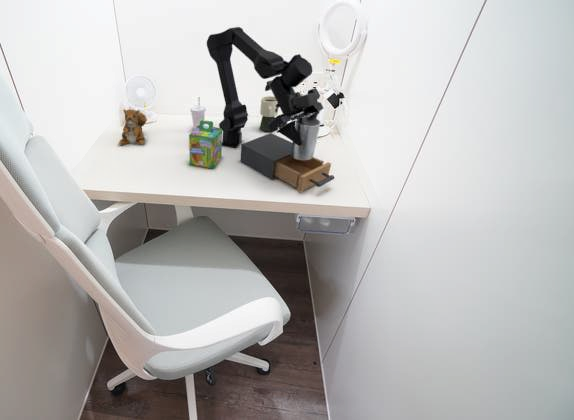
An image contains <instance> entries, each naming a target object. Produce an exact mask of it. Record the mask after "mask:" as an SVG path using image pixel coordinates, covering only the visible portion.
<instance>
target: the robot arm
mask: <svg viewBox="0 0 574 420" xmlns="http://www.w3.org/2000/svg"><path fill="white" fill-rule="evenodd" d="M233 46H234V47H235V48H236V49H237V50H239V51H240V52H241V53H242V54H243V55H244V56H245V57H246V58H247V59H248V60H249V61H251V63H252V64H253V68H254V70H255V72H256V74H257V75H258V76H259V78H261V79H263V80H267V79H270V78H273V79H272V80H268V81H266V85H265V87H264V88H265V89H264V91H265V92H268V91H271V93H272V95H273V97H275V99H276V101H277V103H278V104H276V107H277V108H279V109H280V111H281V114H277V115H276V116H274V117H275V118H274V119H273V120H271V121H270V122H269V123H268V128H269V130H270V131H269V132H270V133H273V132H275V131H276V133H277V134H278V133H280V134H281V135H283V136H284V137H285V138H287V139H289V141H290V142H292V143H293V142H294V143H295V144H297V145H298V146H301V145H302V143H301V140H300V137H299V135H298V133H297V131H296V128H295V125H296V120H297V119H298V118H301V117H311V118H315V119H318V115H319V114H320V112H321V111H322V110H323V109H324V106H323V104H322V102H319V101H318V100H319V99H320V97H321V94H320V92H319V90H318V89H317V88H316V87H315V88H311V89H308V90H307V93H305V94H303V95H302V94H301V93H300V92H299V91H297V92H295V89H294V88H297V87H298V86H299V85H301V84H302V83H303V82H304V81H305V80H306V79H308V78H309V77H310V76H311V75H312V74H313V66H312V64H311V62H309V60H307V59H306V58H304V57H302V55H301V54H300V53H299V54H295V55H294V56H292V57H291V58H290V60H289V61H287V60H285V59H284V58H283V56H281V55H279V54H278V53H276V52H274V51H270V50H267V49H266V48H264V47H262V46H261V45H260V44H258V42H256V41H255V40H254V39H253V38H252V37H250V36H249V35H248V34H247V33H246V32H245V31H244V29H243V28H242V27H240V26H235V27H230V28H228V29H225V30H224V31H222V32H218V33H213V34H209V36H208V38H207V39H206V47H207V51H208V54H209V56H210V58H211V59H212V60H213V61H214V62H215V64H216V68H217V72H218V77H219V80H220V87H221V90H222V94H223V99H224V103H225V106H224V109H223V112H222V114H223V120H221V121H220V122H219V123H218V128H221V129H222V146H223V147H229V148H235V149H237V148H238V147H239V146H240V144H242V142H243V140H242V139H243V132H242V128H244V129H245V126H246V124H247V122H248V119H249V118H248V116H249V113H248V111H247V105H246V104H243V103H242V102H241V101H240V100H239V95H238V89H237V85H236V81H235V75H234V70H233V66H232V61H231V57H232V53H233V49H234V48H233Z"/></svg>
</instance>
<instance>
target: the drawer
mask: <svg viewBox="0 0 574 420" xmlns="http://www.w3.org/2000/svg"><path fill="white" fill-rule="evenodd" d="M331 167H332V162H329V161H327V162H325V163H324V161H323V160H321V159H319V158H317V157H314V156H313V158H312V159H310V160H305V161H304V160H297V159H295V158H293V157H292V156H289V157H286V158H284V159H282V160H280V161H277V162H275V169H274V175H275V176H276V178H278V179H280V180H282V181H284V182H286V183H287V184H289V185H291V186H293V187H295V188H297V191H298V192H299V193H302V192H304V191H305V190H307V189H309V188H310V187H313V186H316V188H320V187H322V186H324V185H326V184H327V183H330V182H331V181H333V180H335V176H334V175H333V174H331V175H330V171H331Z"/></svg>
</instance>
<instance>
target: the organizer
mask: <svg viewBox="0 0 574 420" xmlns="http://www.w3.org/2000/svg"><path fill="white" fill-rule="evenodd" d="M292 143H293V141H291V140H287V139H285V138H283V137H281V136H279V135H276V134H274V133H273V132H270V133H267V134H264V135H262V136H259V137H256V138H254V139H251V140H249V141H246V142H243V143H240V144H241V145H240V146H241V147H240V160H239V161H240V163H242V164H243V165H245V166H247V167H249V168H250V169H252V170H254V171H256V172H257V173H260V174H261V175H262V176H265V178H266V177H267V178H268V179H270V180H274V179H277V177H276V176H275V175H274V169H275V162H277V161H280V160H282V159H284V158H286V157H289V156H291V149H292Z"/></svg>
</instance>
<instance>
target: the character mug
mask: <svg viewBox="0 0 574 420" xmlns="http://www.w3.org/2000/svg"><path fill="white" fill-rule="evenodd" d="M276 104H278V103H277V101H276V99H275V97H274V95H273V96H272V95H267V96H262V97H261V101H260V111H259V114H260V115H261V120H260V125H259V130H262V131H265V132H270V130H269V128H268V123H269V122H270V121H271V120H273V119H274V118H275V117H277V116H278V115H279V109H280V107H279V108H277V107H276Z"/></svg>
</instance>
